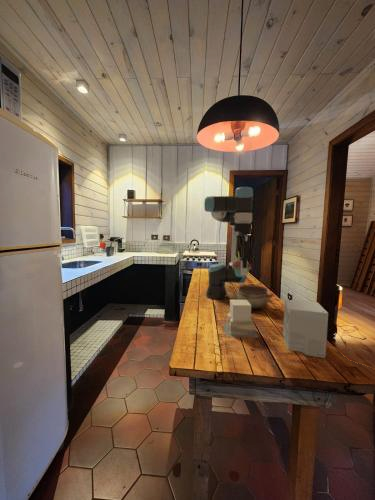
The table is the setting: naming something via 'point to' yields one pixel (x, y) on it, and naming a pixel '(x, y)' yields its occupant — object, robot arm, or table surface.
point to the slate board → (237, 335)
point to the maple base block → (240, 326)
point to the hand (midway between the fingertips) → (241, 273)
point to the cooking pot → (253, 295)
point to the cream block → (240, 310)
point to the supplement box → (305, 327)
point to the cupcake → (239, 267)
